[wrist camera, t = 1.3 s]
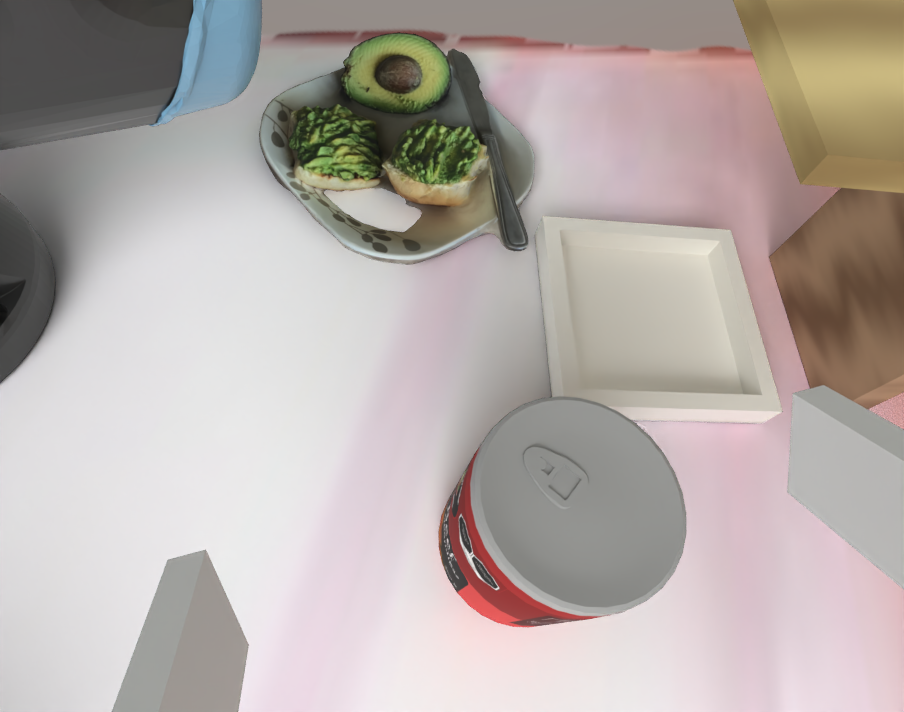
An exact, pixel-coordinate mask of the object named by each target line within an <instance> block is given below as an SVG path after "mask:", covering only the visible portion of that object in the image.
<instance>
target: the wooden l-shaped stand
mask: <svg viewBox="0 0 904 712" xmlns="http://www.w3.org/2000/svg"><path fill="white" fill-rule="evenodd" d="M733 1H734V4H735V7H736V9H737V12H738V15H739V18H740V20H741V23H742V26H743V29H744V32H745V34H746V37H747V40H748V43H749V45H750V48H751V51H752V53H753V56H754V59H755V62H756V64H757V67H758V70H759V73H760V75H761V78H762V81H763V84H764V86H765V89H766V92H767V94H768V97H769V100H770V103H771V105H772V108H773V111H774V114H775V116H776V119H777V122H778V125H779V127H780V130H781V133H782V136H783V138H784V141H785V144H786V146H787V149H788V152H789V155H790V157H791V160H792V163H793V166H794V168H795V171H796V174H797V177H798V179H799V182H800V184H805V185H816V186H828V187H839V188H841V189H840V190H839V191H838V192H837V193H835V194H834V195H833V196H832V197H831V198H830V199H829V200H828V201H827V202H826V203H825V204H824V205H823V206H822V207H821V208H820V209H819V210H818V211H817V212H816V213H815V214H814V215H813V216H812V217H811V218H809V219H808V220H807V221H806V222H805V223H804V224H803V225H802V226H801V227H800V228H799V229H798V230H797V231H796V232H795V233H794V234H793V235H792V236H791V237H790V238H789V239H788V240H787V241H786V242H785V243H784V244H782V245H781V246H780V247H779V248H778V249H777V250H776V251H775V252H774V253H773V254H772V255H771V256H770V257H769V258H770V262H771V265H772V268H773V271H774V274H775V277H776V281H777V284H778V287H779V290H780V293H781V297H782V300H783V303H784V306H785V309H786V313H787V316H788V319H789V322H790V325H791V328H792V332H793V335H794V338H795V341H796V344H797V348H798V351H799V354H800V357H801V360H802V363H803V367H804V370H805V373H806V376H807V379H808V383H809V386H810V389H811V388H815V387H818V386H822V385H825V386H826V387H828V388H830V389H832V390H834V391H835V392H837V393H839V394H841V395H843V396H844V397H846V398H848V399H850V400H852V401H853V402H855V403H857V404H859V405H860V406H862V407H864V408H866V409H869V408H871V407H873V406H876V405H878V404H880V403H882V402H884V401H886V400H888V399H890V398H892V397H894V396H896V395H899V394H901V393H903V392H904V0H733Z"/></svg>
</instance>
